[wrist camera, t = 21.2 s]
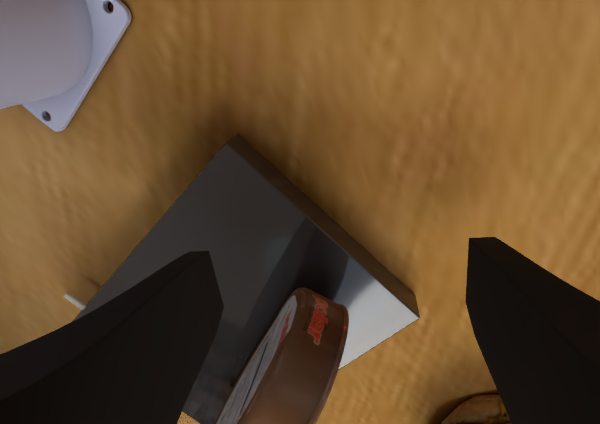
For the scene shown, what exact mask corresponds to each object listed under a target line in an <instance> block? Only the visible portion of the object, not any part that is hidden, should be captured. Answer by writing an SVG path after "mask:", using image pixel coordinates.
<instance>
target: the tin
mask: <svg viewBox="0 0 600 424" xmlns="http://www.w3.org/2000/svg"><path fill="white" fill-rule="evenodd" d="M348 326H349V314H348V310H347V308H346V307H345V306H344V305H342V304H337V303H335V302H333V301H331V300H329V299H327V298H325V297H324V296H322V295H320V294H318V293H316V292H314V291H312V290H310V289H307V288H302V287H301V288H298V289H296V290H295V291H294V292H293V293H292V294H291V295H290V296H289V298H288V299H287V301H286V302H285V304H284V305H283V307H282V308H281V310H280V311H279V313H278V315H277V316H276V318H275V319H274V321H273V323H272V324H271V326H270V327H269V329H268V330H267V332H266V334H265V335H264V337H263V338H262V340H261V341H260V343H259V344H258V346H257V348H256V349H255V351H254V352H253V354H252V356H251V357H250V359H249V361H248V362H247V364H246V366H245V367H244V369H243V371H242V373H241V374H240V376H239V378H238V379H237V381H236V383H235V385H234V387H233V388H232V390H231V392H230V394H229V396H228V398H227V399H226V401H225V403H224V405H223V407H222V409H221V411H220V413H219V415H218V417H217V419H216V421H215V423H214V424H316V422H317V419H318V418H319V416H320V414H321V411H322V409H323V407H324V405H325V403H326V401H327V398H328V396H329V393H330V391H331V389H332V386H333V383H334V380H335V377H336V375H337V372H338V369H339V366H340V363H341V359H342V355H343V352H344V348H345V343H346V339H347V334H348Z"/></svg>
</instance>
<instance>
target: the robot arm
mask: <svg viewBox="0 0 600 424" xmlns="http://www.w3.org/2000/svg"><path fill="white" fill-rule="evenodd" d="M109 2H111V3H112V4H113V7H114V10H113V12H112V13H111V12H110V11H109V9H108V3H109ZM130 22H131V13H130V10H129V9H128V8H127V6H126V5H124V4H123V3H122V2H121V1H120V0H0V109H4V108H8V107H12V106H16V105H20V104H21V105H22V106H23V107H24V108H26V109H27V110H28V111H29V112H30V113H32V114H33V115H34V116H35V117H37V118H38V119H39V120H40V121H42V122H43V123H44V124H45V125H47V126H48V127H49V128H50V129H52V130H53V131H56V132H59V131H62V130H65V129H66V128H67V126H68V124H69V123H70V121H71V120H72V118H73V116H74V115H75V113H76V111H77V110H78V108H79V106H80V105H81V103H82V101H83V100H84V98H85V96H86V95H87V93H88V92H89V90H90V88H91V87H92V85H93V83H94V82H95V80H96V78H97V77H98V75H99V73H100V72H101V70H102V68H103V67H104V65H105V64H106V62H107V60H108V59H109V57H110V55H111V54H112V52H113V50H114V49H115V47H116V45H117V44H118V42H119V40H120V39H121V37H122V36H123V34H124V32H125V31H126V29H127V27H128V26H129V24H130ZM47 112H48V113H49V114H50V116H51V119H50V118H49V117H48V116H47ZM466 305H467V309H468V312H469V316H470V320H471V324H472V327H473V331H474V334H475V337H476V340H477V342H478V345H479V347H480V349H481V352H482V354H483V357H484V359H485V361H486V364H487V366H488V369H489V371H490V373H491V376H492V378H493V380H494V383H495V385H496V388H497V390H498V392H499V395H500V397H501V399H502V402H503V404H504V406H505V409H506V411H507V414H508V416H509V419H510V421H511V424H600V301H598V300H596V299H595V298H593V297H591V296H589V295H587V294H586V293H584V292H582V291H580V290H578V289H577V288H575V287H573V286H571V285H570V284H568V283H566V282H565V281H563V280H561V279H560V278H558V277H556V276H555V275H553V274H552V273H550V272H548V271H547V270H545V269H544V268H542V267H540V266H539V265H537V264H536V263H534V262H533V261H531V260H530V259H528V258H527V257H525V256H524V255H522V254H521V253H519V252H518V251H516V250H515V249H513V248H511V247H510V246H508V245H507V244H505V243H504V242H502V241H501V240H499V239H497V238H495V237H483V238H469V250H468V268H467V287H466ZM223 309H224V304H223V301H222V297H221V293H220V290H219V286H218V282H217V279H216V275H215V271H214V268H213V264H212V260H211V257H210V253H209V251H191V252H188V253H186V254H184V255H182V256H180V257H178V258H177V259H175V260H173V261H172V262H170V263H169V264H167V265H165V266H164V267H162V268H161V269H159V270H158V271H156V272H155V273H153V274H152V275H150V276H149V277H147V278H145V279H144V280H142V281H141V282H139V283H138V284H136V285H135V286H133V287H132V288H130V289H128V290H127V291H125V292H123V293H122V294H120V295H118V296H117V297H115V298H113V299H112V300H110V301H108V302H107V303H105V304H104V305H102V306H100V307H99V308H97V309H95V310H93V311H92V312H90V313H88V314H86V315H84V316H82V317H81V318H79V319H77V320H75V321H73V322H71V323H69V324H67V325H65V326H63V327H61V328H59V329H57V330H55V331H53V332H51V333H49V334H46V335H44V336H42V337H40V338H37V339H35V340H33V341H31V342H28V343H26V344H24V345H22V346H19V347H17V348H15V349H13V350H10V351H8V352H6V353H3V354H1V355H0V424H177V422H178V419H179V417H180V415H181V412H182V410H183V407H184V405H185V403H186V401H187V398H188V396H189V394H190V392H191V390H192V387H193V385H194V383H195V381H196V379H197V377H198V374H199V372H200V370H201V368H202V366H203V363H204V361H205V359H206V357H207V355H208V352H209V350H210V348H211V346H212V343H213V341H214V339H215V336H216V333H217V330H218V326H219V323H220V320H221V316H222V312H223Z"/></svg>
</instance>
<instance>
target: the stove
mask: <svg viewBox="0 0 600 424" xmlns="http://www.w3.org/2000/svg"><path fill="white" fill-rule="evenodd" d="M191 251H209V253H210V257H211V260H212V264H213V268H214V271H215V275H216V279H217V282H218V286H219V290H220V293H221V297H222V301H223V304H224V309H223V312H222V316H221V320H220V323H219V326H218V330H217V333H216V336H215V339H214V341H213V343H212V346H211V348H210V350H209V352H208V355H207V357H206V359H205V361H204V363H203V366H202V368H201V370H200V372H199V374H198V377H197V379H196V381H195V383H194V385H193V387H192V390H191V392H190V394H189V396H188V398H187V401H186V403H185V405H184V407H183V410H182V411H183V412H184V413H186V414H187V415H189V416H190V417H191V418H193V419H194V420H196V421H197V422H199V423H200V424H214V423H215V421H216V419H217V417H218V415H219V413H220V411H221V409H222V407H223V405H224V403H225V401H226V399H227V398H228V396H229V394H230V392H231V390H232V388H233V387H234V385H235V383H236V381H237V379H238V378H239V376H240V374H241V373H242V371H243V369H244V367H245V366H246V364H247V362H248V361H249V359H250V357H251V356H252V354H253V352H254V351H255V349H256V348H257V346H258V344H259V343H260V341H261V340H262V338H263V337H264V335H265V334H266V332H267V330H268V329H269V327H270V326H271V324H272V323H273V321H274V319H275V318H276V316H277V315H278V313H279V311H280V310H281V308H282V307H283V305H284V304H285V302H286V301H287V299H288V298H289V296H290V295H291V294H292V293H293V292H294V291H295V290H296V289H298V288H301V287H302V288H307V289H310V290H312V291H314V292H316V293H318V294H320V295H322V296H324V297H325V298H327V299H329V300H331V301H333V302H335V303H337V304H342V305H344V306H345V307H346V308H347V310H348V314H349V326H348V334H347V339H346V343H345V348H344V352H343V355H342V359H341V363H340V366H339V369H341V368H342V367H344V366H345V365H347V364H349V363H350V362H352V361H353V360H355V359H356V358H358V357H359V356H361V355H363V354H364V353H366V352H367V351H369V350H370V349H372V348H374V347H375V346H377V345H378V344H380V343H381V342H383V341H385V340H386V339H388V338H389V337H391V336H392V335H394V334H395V333H397V332H399V331H400V330H402V329H403V328H405V327H406V326H408V325H410V324H411V323H413V322H414V321H416V320H417V319H419V318H420V316H419V311H418V306H417V301H416V296H415V295H414V294H413V293H412V292H411V291H410V290H409V289H407V288H406V287H405V286H404V285H403V284H402V283H401V282H400V281H399V280H398V279H397V278H395V277H394V276H393V275H392V274H391V273H390V272H389V271H388V270H387V269H386V268H385V267H383V266H382V265H381V264H380V263H379V262H378V261H377V260H376V259H375V258H374V257H372V256H371V255H370V254H369V253H368V252H367V251H366V250H365V249H364V248H363V247H362V246H360V245H359V244H358V243H357V242H356V241H355V240H354V239H353V238H352V237H351V236H350V235H348V234H347V233H346V232H345V231H344V230H343V229H342V228H341V227H340V226H339V225H337V224H336V223H335V222H334V221H333V220H332V219H331V218H330V217H329V216H328V215H327V214H325V213H324V212H323V211H322V210H321V209H320V208H319V207H318V206H317V205H316V204H314V203H313V202H312V201H311V200H310V199H309V198H308V197H307V196H306V195H305V194H304V193H302V192H301V191H300V190H299V189H298V188H297V187H296V186H295V185H294V184H293V183H292V182H290V181H289V180H288V179H287V178H286V177H285V176H284V175H283V174H282V173H281V172H279V171H278V170H277V169H276V168H275V167H274V166H273V165H272V164H271V163H270V162H269V161H267V160H266V159H265V158H264V157H263V156H262V155H261V154H260V153H259V152H258V151H257V150H255V149H254V148H253V147H252V146H251V145H250V144H249V143H248V142H247V141H246V140H244V139H243V138H242V137H241V136H240V135H239V134H238V133H237V134H235V135H234V136H233V137H232V138H231V139H230V140H229V141H228V142H226V143H225V144H224V146H223V147H222V148H221V149H220V150H219V151H218V153H217V154H216V155H215V156H214V157H213V158H212V160H211V161H210V162H209V163H208V164H207V165H206V167H205V168H204V169H203V170H202V171H201V172H200V173H199V175H198V176H197V177H196V178H195V179H194V180H193V182H192V183H191V184H190V185H189V186H188V187H187V189H186V190H185V191H184V192H183V193H182V194H181V196H180V197H179V198H178V199H177V200H176V201H175V203H174V204H173V205H172V206H171V207H170V208H169V210H168V211H167V212H166V213H165V214H164V215H163V216H162V218H161V219H160V220H159V221H158V222H157V223H156V225H155V226H154V227H153V228H152V229H151V230H150V232H149V233H148V234H147V235H146V236H145V237H144V239H143V240H142V241H141V242H140V243H139V244H138V246H137V247H136V248H135V249H134V250H133V251H132V252H131V254H130V255H129V256H128V257H127V258H126V259H125V261H124V262H123V263H122V264H121V265H120V266H119V268H118V269H117V270H116V271H115V272H114V273H113V275H112V276H111V277H110V278H109V279H108V280H107V282H106V283H105V284H104V285H103V286H102V287H101V288H100V290H99V291H98V292H97V293H96V294H95V295H94V297H93V298H92V299H91V300H90V301H89V302H88V304H87V305H85V304H83V303H82V302H80V301H79V300H78V299H76V298H75V297H73V296H72V295H71V294H69V293H66V294H65V296H64V297H65V298H66V299H67V300H69V301H70V302H72V303H73V304H74V305H76V306H77V307H79V308H80V309H81V310H82V311H81V312H80V313H79V314H78V315H77V316H76V318H75V319H74V320H73V321H75V320H77V319H79V318H81V317H82V316H84V315H86V314H88V313H90V312H92V311H93V310H95V309H97V308H99V307H100V306H102V305H104V304H105V303H107V302H108V301H110V300H112V299H113V298H115V297H117V296H118V295H120V294H122V293H123V292H125V291H127V290H128V289H130V288H132V287H133V286H135V285H136V284H138V283H139V282H141V281H142V280H144V279H145V278H147V277H149V276H150V275H152V274H153V273H155V272H156V271H158V270H159V269H161V268H162V267H164V266H165V265H167V264H169V263H170V262H172V261H173V260H175V259H177V258H178V257H180V256H182V255H184V254H186V253H188V252H191ZM73 321H72V322H73ZM339 369H338V370H339Z"/></svg>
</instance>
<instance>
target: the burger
mask: <svg viewBox="0 0 600 424" xmlns="http://www.w3.org/2000/svg"><path fill="white" fill-rule="evenodd" d="M441 424H511V421H510V419H509V416H508V414H507V411H506V409H505V406H504V404H503V402H502V399H501V397H500V395H489V394H488V395H480V396H474V397H473V398H471V399H469V400H467V401H465V402H463V403H462V404H460V405H459V406H458V407H457V408H456V409H455V410H454V411H453V412H452V413H450V414H449V416H448V417H447V418H445V419H444V420H443V422H442V423H441Z"/></svg>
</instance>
